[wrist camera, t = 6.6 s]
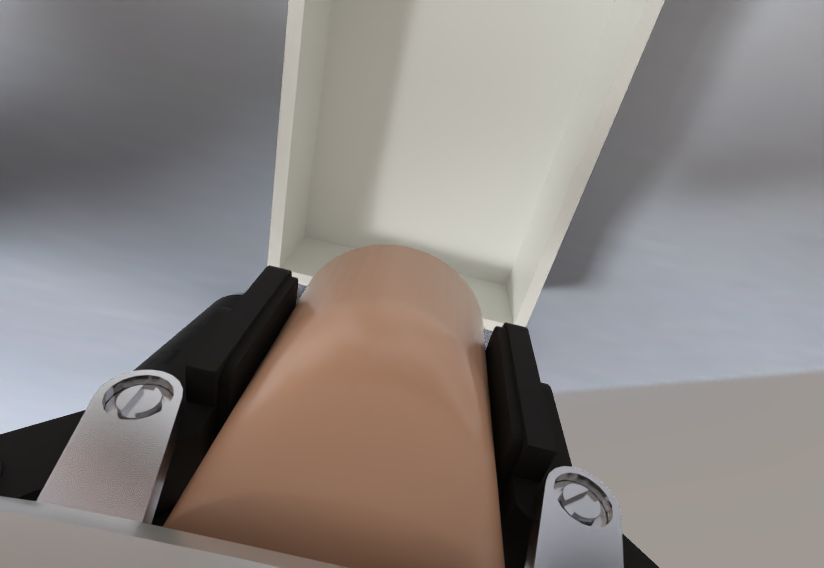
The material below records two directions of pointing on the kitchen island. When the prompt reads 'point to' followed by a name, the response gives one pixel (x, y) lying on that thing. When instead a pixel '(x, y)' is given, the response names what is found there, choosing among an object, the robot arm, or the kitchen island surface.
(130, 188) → the kitchen island surface
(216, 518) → the cylinder
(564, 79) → the tote
